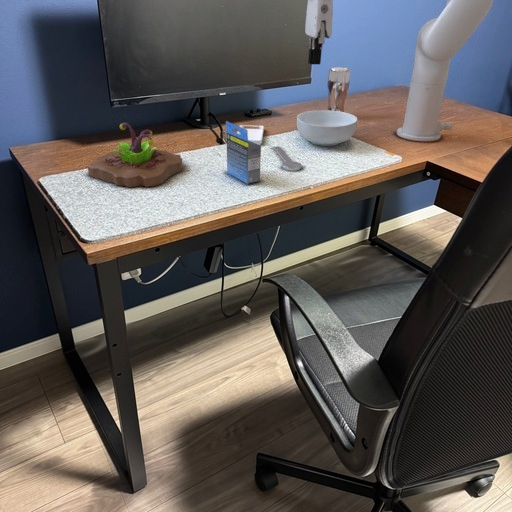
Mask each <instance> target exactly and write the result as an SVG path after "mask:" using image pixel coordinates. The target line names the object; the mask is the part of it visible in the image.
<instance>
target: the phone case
mask: <svg viewBox="0 0 512 512" xmlns="http://www.w3.org/2000/svg"><path fill="white" fill-rule="evenodd" d="M238 126H239V127H242V128H244V129H246V130H247V131H248V140H249V141H251V142H254V143H256V144H258V145H260V146H262V144H263V137H264V131H265V126H264V125H255V124H253V125H251V124H249V125H248V124H246V125H245V124H240V125H238ZM245 127H247V128H245ZM248 127H253V128H248ZM254 127H257V128H254ZM236 133H238V134H240V132H239V131H238V130H237V131H236Z"/></svg>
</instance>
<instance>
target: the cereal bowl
mask: <svg viewBox="0 0 512 512" xmlns="http://www.w3.org/2000/svg"><path fill="white" fill-rule="evenodd" d="M296 127H297V131H298V134H299V135H300V136H301V137H302V138H304V139H305V140H306V141H309V142H311V144H313V145H316V146H319V147H335V146H337V145H339V144H340V143H341V144H342V143H343V142H346V141H348V140H350V139H351V138H352V137H353V136H354V135H355V133H356V131H357V128H358V117H357V116H356V115H354V114H352V113H349V112H345V111H344V112H340V111H331V110H328V109H319V110H318V109H315V110H307V111H303V112H300V113H299V114H298V115H297V116H296Z"/></svg>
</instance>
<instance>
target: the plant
mask: <svg viewBox="0 0 512 512" xmlns="http://www.w3.org/2000/svg"><path fill="white" fill-rule="evenodd" d="M127 128H128V130H129V133H130V138H131V141H130V143H128V142H125V141H120V142H119V144H117V147H118V149H112V150H113V151H110V152H107V153H106V154H103V155H101V156H98V157H96V160H95V161H93V162H91V163H90V164H89V165H87V172H88V173H87V174H88V175H89V176H90V177H92V178H94V179H99V180H101V181H103V182H106V183H111V184H115V185H116V186H117V187H118V186H122V187H123V186H124V187H127V188H135V187H141V186H142V187H145V188H149V187H156V186H159V185H162V184H163V183H165V182H166V181H167V180H168V179H169V178H170V177H172V176H173V175H175V174H177V173H180V172H181V171H182V170H183V158H182V157H181V154H179V153H178V154H175V153H172V152H169V151H168V150H161V149H158V147H157V146H155V147H152V148H150V147H151V146H152V145H153V144H154V140H153V138H152V136H153V131H152V130H150V129H144V130H142V131H141V132H140V134H139V136H138V138H137V136H136V132H135V130H134V128H133V127H132V125H131V124H129V123H128V122H122V123H120V124H119V129H120V130H121V131H125V130H126V129H127ZM144 138H147V140H144V141H142V140H143V139H144Z"/></svg>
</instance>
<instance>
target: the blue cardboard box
mask: <svg viewBox="0 0 512 512" xmlns="http://www.w3.org/2000/svg"><path fill="white" fill-rule="evenodd" d="M239 126H240V125H237V124H234V123H232V122H230V121H228V120H226V121H225V131H226V173H227V174H228V175H231V176H233V177H234V178H236V179H238V180H240V181H241V182H244V183H245V184H247V185H249V184H254V183H257V182H260V181H261V162H262V161H261V159H262V158H261V157H262V145H258V144H256V143H254V142H251V141H249V140H248V131H247V130H246V129H244V128H245V127H244V128H242V127H239ZM236 130H237V131H239V132H240V134H238V133H237V132H235V131H236Z"/></svg>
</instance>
